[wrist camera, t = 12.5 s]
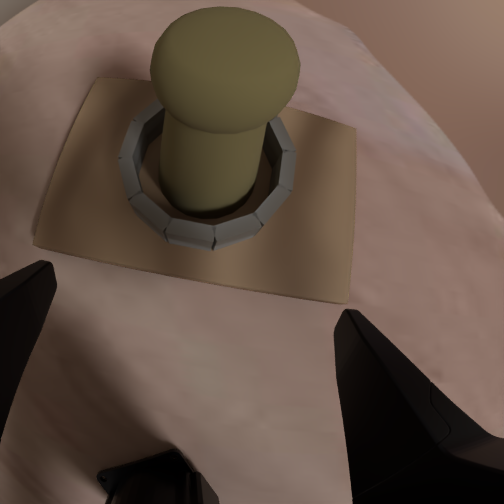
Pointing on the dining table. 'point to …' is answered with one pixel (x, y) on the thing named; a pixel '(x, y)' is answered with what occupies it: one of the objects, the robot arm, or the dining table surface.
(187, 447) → the dining table surface
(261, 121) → the cork
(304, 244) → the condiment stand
